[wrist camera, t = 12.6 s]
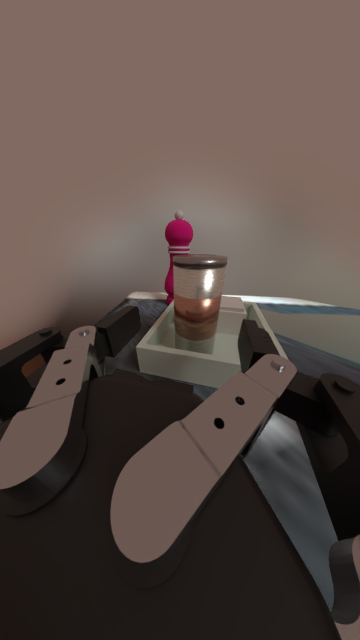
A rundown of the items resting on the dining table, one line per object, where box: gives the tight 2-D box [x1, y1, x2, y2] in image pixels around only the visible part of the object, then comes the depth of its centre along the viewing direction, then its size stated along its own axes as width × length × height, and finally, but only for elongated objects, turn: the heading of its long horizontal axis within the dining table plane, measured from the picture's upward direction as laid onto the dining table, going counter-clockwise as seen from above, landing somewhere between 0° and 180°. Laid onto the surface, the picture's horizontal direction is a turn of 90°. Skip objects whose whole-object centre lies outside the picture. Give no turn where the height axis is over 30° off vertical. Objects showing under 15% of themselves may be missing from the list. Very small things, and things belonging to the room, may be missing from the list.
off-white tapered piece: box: [216, 296, 247, 336], centre depth 26 cm, size 10×6×5 cm, turn 76°
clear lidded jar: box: [173, 254, 227, 355], centre depth 18 cm, size 6×6×12 cm
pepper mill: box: [165, 210, 193, 305], centre depth 34 cm, size 7×7×20 cm
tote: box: [136, 300, 288, 389], centre depth 23 cm, size 16×18×4 cm
